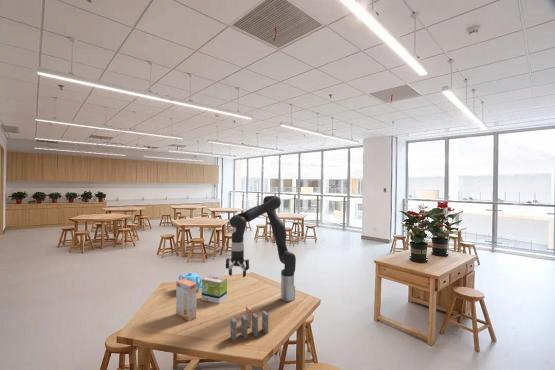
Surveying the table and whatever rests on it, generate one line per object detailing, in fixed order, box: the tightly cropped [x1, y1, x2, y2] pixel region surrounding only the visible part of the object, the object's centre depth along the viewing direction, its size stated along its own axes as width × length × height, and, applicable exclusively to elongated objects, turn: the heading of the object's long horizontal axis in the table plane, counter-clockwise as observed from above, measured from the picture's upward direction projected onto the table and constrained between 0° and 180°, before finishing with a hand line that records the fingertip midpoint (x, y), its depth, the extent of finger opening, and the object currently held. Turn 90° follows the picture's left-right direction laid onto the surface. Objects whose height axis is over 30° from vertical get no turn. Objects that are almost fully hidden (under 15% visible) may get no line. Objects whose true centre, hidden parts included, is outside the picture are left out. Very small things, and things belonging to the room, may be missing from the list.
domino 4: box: [251, 312, 259, 337], centre depth 145 cm, size 2×5×10 cm, turn 26°
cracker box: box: [175, 279, 198, 322], centre depth 164 cm, size 14×6×21 cm, turn 49°
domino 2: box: [240, 314, 248, 340], centre depth 142 cm, size 2×5×10 cm, turn 26°
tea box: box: [201, 275, 228, 304], centre depth 188 cm, size 15×10×15 cm, turn 68°
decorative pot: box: [178, 271, 203, 291], centre depth 204 cm, size 16×16×14 cm
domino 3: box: [245, 305, 253, 328], centre depth 154 cm, size 2×5×10 cm, turn 26°
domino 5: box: [261, 310, 269, 334], centre depth 148 cm, size 2×5×10 cm, turn 26°
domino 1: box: [230, 317, 237, 343], centre depth 140 cm, size 2×5×10 cm, turn 26°
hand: (237, 276), depth 162 cm, fingers open, 8 cm apart
